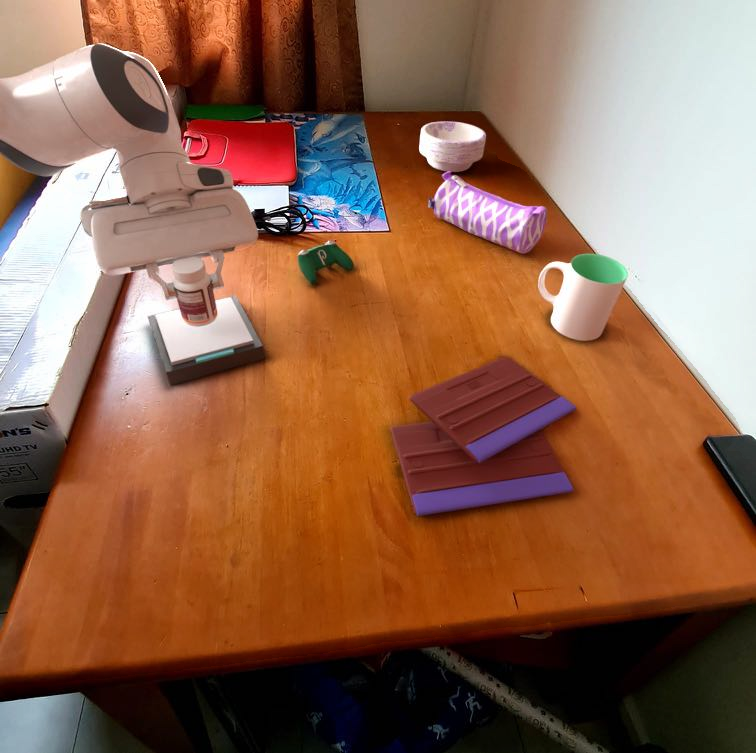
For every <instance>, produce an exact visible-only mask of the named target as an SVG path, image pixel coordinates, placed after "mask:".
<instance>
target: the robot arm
mask: <svg viewBox="0 0 756 753" xmlns="http://www.w3.org/2000/svg"><path fill="white" fill-rule="evenodd" d="M112 149H114V150H115V152H116V154H117V158H118V171H119V174H120V178H121V181H122V184H123V186H124V191H125V193H126V195H121V196H115V197H110V198H106V199H94V200H91V201H89V204H87V205H85V206H83V208H82V209H81V211H80V213H79V219H80V222H81V225H82V228H83V230H84V232H85V233H86V234H87V235H88V236H89V237H91V240H92V246H93V250H94V255H95V260H96V262H97V266H98V268H99V270H100V271H101V272H102V273H103V274H105V275H107V276H108V277H116V276H119V275H125V274H130V273H134V272H138V271H140V272H141V271H143V270H146V273H147V276H148V278H149V279H150V280H151V281H152V282H153V283H154V284H155V285H157V286H158V288H160V289H161V290H162V294H163V297H164V299H165V301H169V300H175V299H177V294H176V291H175V290H174V284H173V282H168V283H167V282H165V280H164V279H163V278H161V276H159V275H160V269H159V267H164V266H168V265H172V264H173V262H174V261H176V260H177V259H179V258H182V257H187V256H194V257H199V258H201V259H204V258H208V257H210V258H211V262H212V264H216V267H215V272H214V273H211V274H210V273H209V276H210V278H211V283H212V288H213V291H214V290H219V289H223V288H224V287H225V283H224V280H223V277H222V270H223V265H224V262H225V254H229V253H233V252H238V251H243V250H249V249H252V248H254V246H255V244H256V243H257V242H258V238H259V230H258V226H257V225H256V222H255V219H254V216H253V214H252V212H251V209H250V207H249V205H248V202H247V201H246V199H245V197H244V196H243V195H242V194H241V193H240V192H239V191H238V190H236V189H234V179H233V175H232V173H231V172H230V171H229V170H228V169H225V168H221V167H215V166H207V165H202V164H198V163H192V162H191V159H190V157H189V155H188V153H187V152H186V150H185V148H184V146H183V143H182V132H181V126H180V124H179V120H178V117H177V115H176V112H175V109H174V106H173V103H172V101H171V99H170V95H169V94H168V91H167V89H166V87H165V85H164V83H163V81H162V79H161V77H160V75H159V73H158V71H157V70H156V68H155V66H154V65H153V64H152V63H151V62H150V61H149V60H148V59H146V58H145V57H144V56H141V55H140V54H137V53H134V52H130V51H123V50H120V49H118V48H116V47H114V46H111V45H108V44H106V43H101V42H98V43H95V44H91V45H86V46H84V47H82V48H79V49H76V50H74V51H72V52H69V53H67V54H64V55H62V56H60V57H58V58H57V59H55V60H52V61H50V62H47V63H45V64H44V65H41V66H38V67H36V68H33V69H32V70H29V71H27V72H25V73H22V74H18V75H16V76H15V75H14V76H10V77H9V76H8V77H0V156H2V157H3V158H4V159H5V160H6V161H8V162H9V163H10V164H12V165H14V166H15V167H17V168H19V169H21V170H23V171H25V172H28V173H31V174H34V175H35V176H41V177H52V176H54V175H57V174H58V173H60V172H62V171H64V170H67V168H70V167H72V166H74V165H75V164H76V163H79V162H81V161H84V160H86V159H89V158H91V157H94V156H96V155H99V154H101V153H104V152H106V151H107V152H108V151H109V150H112Z"/></svg>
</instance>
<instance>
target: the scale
mask: <svg viewBox="0 0 756 753" xmlns="http://www.w3.org/2000/svg"><path fill="white" fill-rule="evenodd" d="M215 302H216V307H217V312H218V315H217V318H216V319H215V320H214V321H213V322H212V323H210V324H208V325H205V326H199V327H196V326H190V325H188V324H186V323H185V322H184V321H183V319H182V315H181V312H180V308H175V309H171V310H167V311H163V312H159V313H155V314H150V315H147V319H148V323H149V326H150V328H151V332H152V335H153V338H154V341H155V344H156V347H157V350H158V353H159V356H160V359H161V362H162V365H163V369H164V371H165V374H166V377H167V381H168V383H169V386H174V385H178V384H181V383H184V382H187V381H192V380H195V379H198V378H202V377H206V376H209V375H213V374H215V373H219V372H224V371H226V370H230V369H232V368H237V367H240V366H244V365H247V364H251V363H255V362H258V361H261V360H265V359H266V356H265V349H264V345H263V343H262V341H261V339H260V337H259V335H258V333H257V332H256V330H255V328H254V327H253V324H252V322H251V321H250V319H249V317H248V315H247V313H246V311H245V309H244V307H243V306H242V304H241V302H240V300H239V298H238V296H237V295H231V296H227V297H223V298H219V299H215Z"/></svg>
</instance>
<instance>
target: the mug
mask: <svg viewBox="0 0 756 753" xmlns="http://www.w3.org/2000/svg"><path fill="white" fill-rule="evenodd" d="M550 269H557V270H560V271H561V272H562V274H563V279H562V280H563V281H562V284H561V288H560V291H559V293H558V294H557V295H554V294H551V293H550V292H549V291H548V290H547V288H546V285H545V279H546V276H547V273H548V272H549V270H550ZM628 276H629V274H628V270H627V268H626V267H625V266H624V265H623V264H622V263H620V262H619V261H617V260H616V259H614V258H611V257H609V256H606V255H603V254H598V253H582V254H578V255H575V256H574V257H573V258H572V259H571V260H570V263H567V262H563V261H552V262H549V263H548V264H547V265H545V267H544V268H543V269H542V271H541V272H540V274H539V277H538V282H537V287H538V288H537V289H538V292H539V294H540V296H541V297H542V298H543V299H544V300H545V301H546V302H547V303H549V304H551V305H553V309H552V310H553V311H552V313H551V316H550V324H551V325H552V327H553V328H554V329H555V330H556V332H558V333H559V334H561V335H563V336H564V337H567V338H569V339H572V340H575V341H582V342H585V341H586V342H587V341H589V342H590V341H594V340H596V339H598V338H599V337H601V335H602V334H603V331H604V329H605V327H606V325H607V323H608V320H609V319H610V316H611V315H612V312H613V309H614V307H615V306H616V303H617V301H618V299H619V296H620V294H621V292H622V289H623V288H624V285H625V283H626V281H627V278H628Z"/></svg>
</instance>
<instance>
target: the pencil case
mask: <svg viewBox="0 0 756 753" xmlns="http://www.w3.org/2000/svg"><path fill="white" fill-rule="evenodd" d="M451 173H452V172H451V171H448V172H446V171H445V172H444V173H443V174H441V177H442V179H443V180H444V182H443V183H442V184H441V185H440V186H439V187H438V189H437V191H436V192H435V194H434V198H432V197H429V198H428V201H427V202H428V204H427V207H428V209H431V210H433V213H434V215H435V216H436V217H437V219H439V220H443V221H445V222H448V223H449V224H452V225H454V226H456V227H458V228H459V229H461V230H463V231H465V232H467V233H469V234H472V235H473V236H476V237H480V238H482V239H485V240H487V241H490V242H492V243H494V244H497V245H499V246H502V247H505V248H507V249H510V250H512V251H514V252H517V253H519V254H527V253H529V252H530V251H531V250H532V249H533V248H534V247H535V246H536V245H537V244H538V243H539V241H540V240H541V238H542V236H543V234H544V231H545V228H546V224H547V219H548V210H547V207H546V206H543V205H540V206H538V205H537V206H536V205H529V206H527V205H522V204H520V203H516V202H513V201H509V200H507V199H506V198H503V197H502V196H499V195H496V194H493V193H490V192H487V191H485V190H482V189H480V188H478V187H475V186H473V185H471V184H470V183H467V182H466V181H465V180H463V178H461V177H460V176H458V175H456V174H454V175H452V174H451Z"/></svg>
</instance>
